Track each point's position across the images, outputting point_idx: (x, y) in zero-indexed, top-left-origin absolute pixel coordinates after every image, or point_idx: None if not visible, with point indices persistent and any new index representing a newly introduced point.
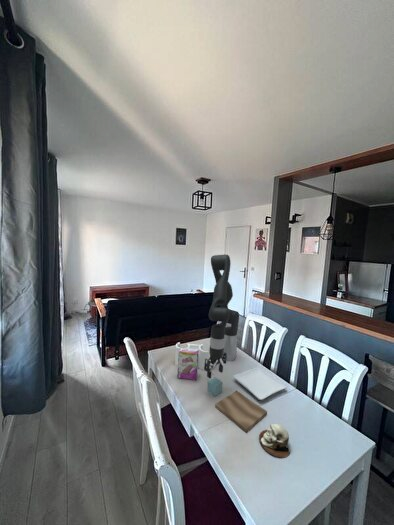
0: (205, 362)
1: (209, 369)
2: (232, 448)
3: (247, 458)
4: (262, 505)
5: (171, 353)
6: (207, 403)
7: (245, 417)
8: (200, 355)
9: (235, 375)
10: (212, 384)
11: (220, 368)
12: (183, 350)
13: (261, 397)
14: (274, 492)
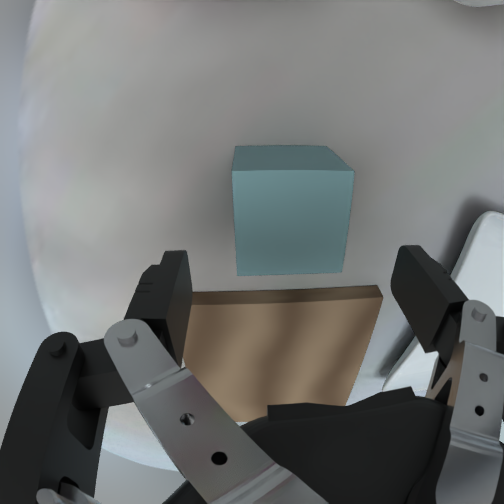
0: (8, 482)
1: (128, 399)
2: (127, 407)
3: (149, 429)
4: (123, 451)
5: None
6: (148, 247)
7: (244, 404)
8: None
9: (498, 217)
10: (235, 238)
11: (417, 299)
12: None
13: (411, 366)
14: (156, 457)
